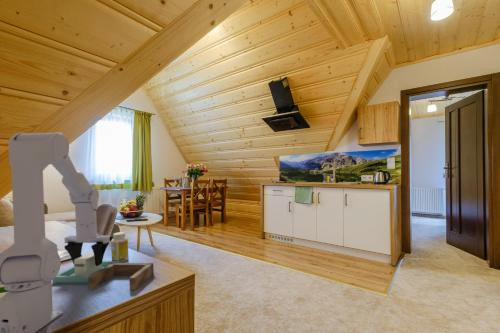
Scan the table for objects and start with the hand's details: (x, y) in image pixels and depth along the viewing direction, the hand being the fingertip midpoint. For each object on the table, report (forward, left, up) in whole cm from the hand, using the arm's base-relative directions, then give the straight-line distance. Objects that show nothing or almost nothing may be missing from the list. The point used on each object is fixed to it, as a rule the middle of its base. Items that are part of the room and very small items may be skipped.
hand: (88, 264), depth 82 cm
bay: (-5, -15, -3) cm, 16 cm away
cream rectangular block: (0, 0, -3) cm, 3 cm away
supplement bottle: (+12, -3, -3) cm, 13 cm away
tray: (0, 0, -3) cm, 3 cm away
